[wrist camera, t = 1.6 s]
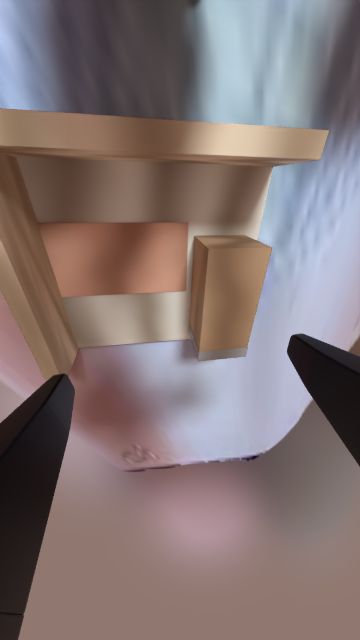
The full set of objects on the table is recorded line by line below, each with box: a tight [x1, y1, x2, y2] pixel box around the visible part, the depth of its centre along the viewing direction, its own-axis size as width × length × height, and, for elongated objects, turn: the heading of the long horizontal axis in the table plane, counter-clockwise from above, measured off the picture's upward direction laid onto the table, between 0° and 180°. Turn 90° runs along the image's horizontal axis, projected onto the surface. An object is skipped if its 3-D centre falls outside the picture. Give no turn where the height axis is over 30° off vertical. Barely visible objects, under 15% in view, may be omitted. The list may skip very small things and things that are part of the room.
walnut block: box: [189, 235, 272, 361], centre depth 18 cm, size 5×10×5 cm, turn 179°
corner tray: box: [0, 108, 329, 381], centre depth 16 cm, size 19×17×6 cm
